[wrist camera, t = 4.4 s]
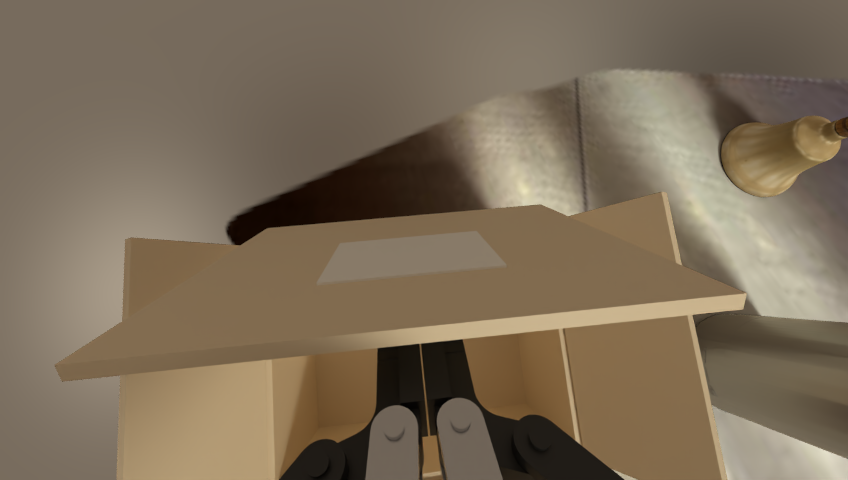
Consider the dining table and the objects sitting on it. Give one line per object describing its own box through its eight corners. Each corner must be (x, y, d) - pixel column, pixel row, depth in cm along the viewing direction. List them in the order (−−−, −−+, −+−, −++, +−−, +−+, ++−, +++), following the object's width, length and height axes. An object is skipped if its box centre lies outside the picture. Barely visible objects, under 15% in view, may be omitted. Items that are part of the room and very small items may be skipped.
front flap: (540, 211, 23) (540, 203, 23) (743, 309, 9) (747, 290, 9) (268, 235, 22) (266, 226, 22) (61, 381, 8) (52, 361, 8)
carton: (545, 234, 33) (744, 152, 13) (589, 522, 29) (959, 1008, 10) (267, 260, 32) (26, 211, 12) (275, 565, 28) (-59, 1237, 8)
